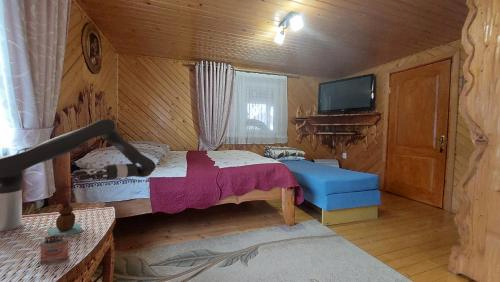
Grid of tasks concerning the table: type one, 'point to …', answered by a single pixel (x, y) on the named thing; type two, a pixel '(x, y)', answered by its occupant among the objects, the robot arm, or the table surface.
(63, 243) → the lighter
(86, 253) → the table surface
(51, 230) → the mat
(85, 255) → the table surface
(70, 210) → the wooden figurine
